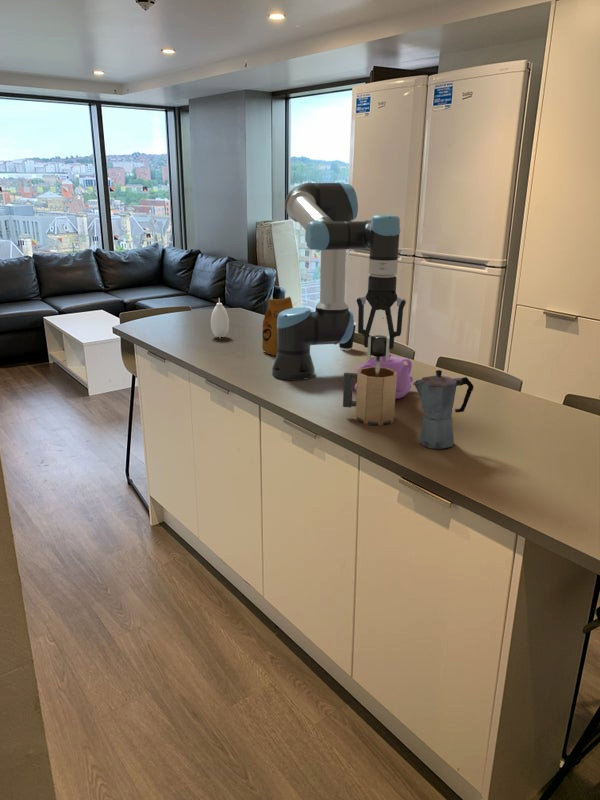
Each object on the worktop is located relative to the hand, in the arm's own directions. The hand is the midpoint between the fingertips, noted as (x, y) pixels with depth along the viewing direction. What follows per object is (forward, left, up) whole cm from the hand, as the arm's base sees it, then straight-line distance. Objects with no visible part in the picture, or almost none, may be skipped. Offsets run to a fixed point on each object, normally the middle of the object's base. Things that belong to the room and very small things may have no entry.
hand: (378, 359), depth 170 cm
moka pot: (+18, -14, -18) cm, 29 cm away
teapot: (+2, +21, -18) cm, 28 cm away
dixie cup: (-20, +77, -18) cm, 82 cm away
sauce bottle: (-77, +83, -18) cm, 115 cm away
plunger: (0, 0, -12) cm, 12 cm away
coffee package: (-46, +66, -18) cm, 82 cm away
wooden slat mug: (-2, 0, -18) cm, 18 cm away
